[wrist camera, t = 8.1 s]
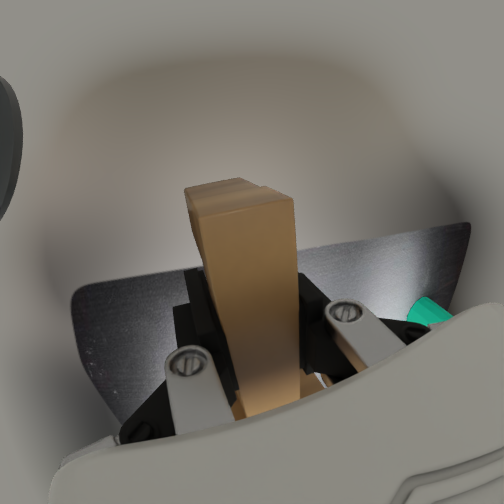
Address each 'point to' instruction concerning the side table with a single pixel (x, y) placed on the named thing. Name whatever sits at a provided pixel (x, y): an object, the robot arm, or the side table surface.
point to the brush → (253, 288)
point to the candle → (427, 312)
